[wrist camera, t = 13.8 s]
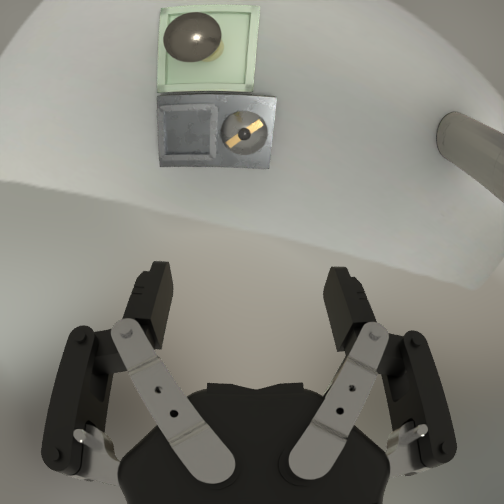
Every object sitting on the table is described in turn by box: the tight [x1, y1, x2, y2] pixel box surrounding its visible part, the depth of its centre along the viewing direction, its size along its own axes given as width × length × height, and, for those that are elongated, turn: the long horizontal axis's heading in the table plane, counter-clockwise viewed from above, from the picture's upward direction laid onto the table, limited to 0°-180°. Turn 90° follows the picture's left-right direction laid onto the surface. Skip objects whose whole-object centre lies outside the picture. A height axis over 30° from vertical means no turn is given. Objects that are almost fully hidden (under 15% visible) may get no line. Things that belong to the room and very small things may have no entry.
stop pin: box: [163, 12, 224, 62], centre depth 22 cm, size 5×5×13 cm
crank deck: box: [157, 93, 277, 169], centre depth 33 cm, size 15×10×3 cm, turn 86°
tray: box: [157, 5, 260, 93], centre depth 26 cm, size 12×12×2 cm
